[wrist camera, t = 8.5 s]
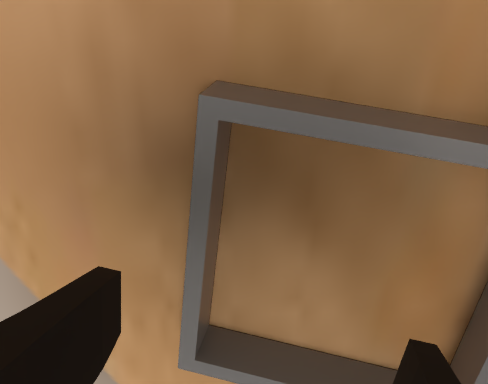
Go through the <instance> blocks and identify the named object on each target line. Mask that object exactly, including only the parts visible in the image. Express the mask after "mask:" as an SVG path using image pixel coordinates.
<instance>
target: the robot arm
mask: <svg viewBox="0 0 488 384" xmlns="http://www.w3.org/2000/svg"><path fill="white" fill-rule="evenodd" d="M120 333H121V271H117V270H112V269H108V268H104V267H99V266H98V267H97V268H95V269H93V270H91V271H89V272H88V273H86V274H84V275H83V276H81V277H79V278H78V279H76V280H74V281H73V282H71V283H69V284H68V285H66V286H64V287H62V288H61V289H59V290H57V291H56V292H54V293H52V294H51V295H49V296H47V297H45V298H44V299H42V300H40V301H38V302H37V303H35V304H33V305H31V306H30V307H28V308H26V309H24V310H22V311H21V312H19V313H17V314H15V315H13V316H11V317H9V318H7V319H5V320H3V321H1V322H0V384H93V383H94V382H95V380H96V379H97V377H98V376H99V374H100V372H101V371H102V369H103V368H104V366H105V364H106V362H107V360H108V358H109V356H110V354H111V352H112V350H113V348H114V346H115V344H116V342H117V339H118V337H119V335H120ZM393 384H461V383H460V381H459V379H458V378H457V376H456V375H455V373H454V371H453V370H452V368H451V367H450V365H449V364H448V362H447V360H446V359H445V357H444V356H443V354H442V353H441V351H440V349H439V348H438V346H437V345H435V344H430V343H426V342H422V341H417V340H413V339H409V342H408V345H407V347H406V350H405V352H404V355H403V358H402V360H401V363H400V366H399V368H398V371H397V374H396V376H395V379H394V382H393Z"/></svg>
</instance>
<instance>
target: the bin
mask: <svg viewBox="0 0 488 384" xmlns="http://www.w3.org/2000/svg"><path fill="white" fill-rule="evenodd" d="M232 123H238V124H243V125H249V126H254V127H260V128H265V129H271V130H276V131H282V132H287V133H293V134H298V135H304V136H309V137H315V138H320V139H326V140H331V141H337V142H342V143H348V144H354V145H359V146H365V147H370V148H376V149H381V150H387V151H392V152H398V153H403V154H409V155H414V156H420V157H425V158H431V159H436V160H442V161H447V162H453V163H458V164H464V165H469V166H475V167H480V168H486V169H488V127H487V126H482V125H476V124H470V123H464V122H458V121H452V120H446V119H440V118H434V117H429V116H423V115H417V114H411V113H405V112H399V111H393V110H387V109H381V108H376V107H370V106H364V105H358V104H352V103H346V102H340V101H334V100H328V99H323V98H317V97H311V96H305V95H299V94H293V93H287V92H281V91H276V90H270V89H264V88H258V87H252V86H246V85H240V84H234V83H228V82H223V81H216V82H214V83H213V84H212V85H210V86H209V87H208V88H207V89H205V90H204V91H203V92H201V93H200V94H199V100H198V113H197V126H196V139H195V152H194V165H193V178H192V191H191V204H190V217H189V230H188V243H187V256H186V269H185V282H184V295H183V308H182V321H181V334H180V347H179V360H178V368H179V369H183V370H187V371H191V372H195V373H199V374H203V375H207V376H210V377H214V378H218V379H222V380H226V381H230V382H234V383H238V384H393V382H394V379H395V376H396V374H397V370H393V369H388V368H384V367H380V366H376V365H372V364H368V363H364V362H360V361H355V360H351V359H347V358H343V357H339V356H335V355H331V354H327V353H322V352H318V351H314V350H310V349H306V348H302V347H298V346H294V345H289V344H285V343H281V342H277V341H273V340H269V339H265V338H261V337H256V336H252V335H248V334H244V333H240V332H236V331H232V330H228V329H223V328H219V327H215V326H211V325H209V319H210V310H211V302H212V293H213V284H214V275H215V266H216V257H217V248H218V239H219V230H220V221H221V213H222V204H223V195H224V186H225V177H226V168H227V159H228V150H229V141H230V132H231V124H232ZM450 367H451V368H452V370H453V371H454V373H455V375H456V376H457V378H458V379H459V381H460V383H461V384H488V282H487V284H486V287H485V289H484V291H483V293H482V296H481V298H480V300H479V302H478V304H477V307H476V309H475V311H474V313H473V316H472V318H471V320H470V322H469V325H468V327H467V329H466V331H465V333H464V336H463V338H462V340H461V342H460V345H459V347H458V349H457V351H456V354H455V356H454V358H453V360H452V363H451V365H450Z"/></svg>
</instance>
